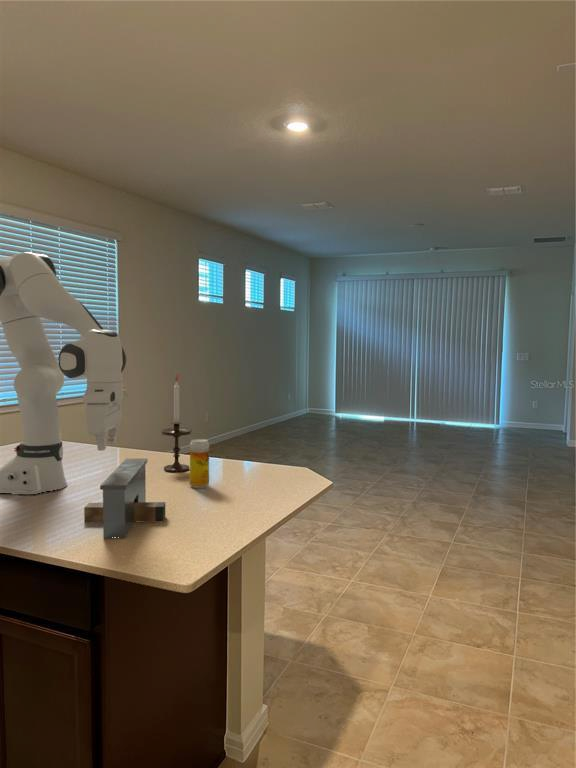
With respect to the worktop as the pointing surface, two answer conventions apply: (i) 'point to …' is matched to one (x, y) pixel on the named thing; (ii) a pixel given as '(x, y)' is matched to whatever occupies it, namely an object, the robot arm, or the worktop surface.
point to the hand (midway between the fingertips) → (107, 446)
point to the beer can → (199, 463)
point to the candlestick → (176, 435)
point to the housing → (123, 497)
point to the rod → (141, 511)
